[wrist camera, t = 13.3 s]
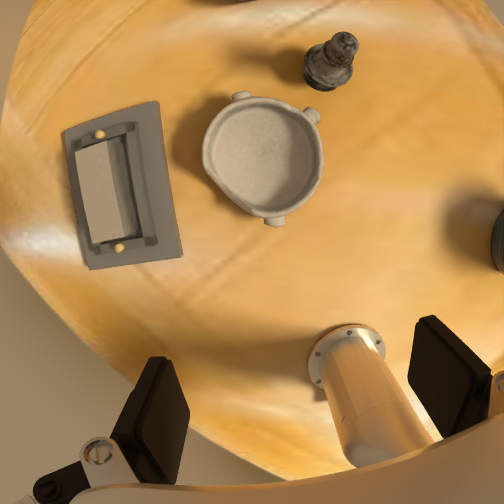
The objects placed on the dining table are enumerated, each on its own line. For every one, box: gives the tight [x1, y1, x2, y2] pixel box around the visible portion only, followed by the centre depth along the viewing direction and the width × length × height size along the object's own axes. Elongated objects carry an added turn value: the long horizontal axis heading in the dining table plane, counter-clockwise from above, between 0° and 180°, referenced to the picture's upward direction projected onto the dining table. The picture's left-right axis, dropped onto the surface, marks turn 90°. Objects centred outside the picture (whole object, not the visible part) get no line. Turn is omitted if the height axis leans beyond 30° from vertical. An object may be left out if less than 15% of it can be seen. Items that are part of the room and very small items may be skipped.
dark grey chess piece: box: [302, 32, 359, 92], centre depth 26 cm, size 6×6×12 cm
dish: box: [201, 91, 324, 227], centre depth 33 cm, size 14×14×5 cm
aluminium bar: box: [75, 141, 140, 244], centre depth 32 cm, size 4×11×5 cm, turn 10°
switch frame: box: [64, 101, 183, 270], centre depth 34 cm, size 20×14×4 cm
